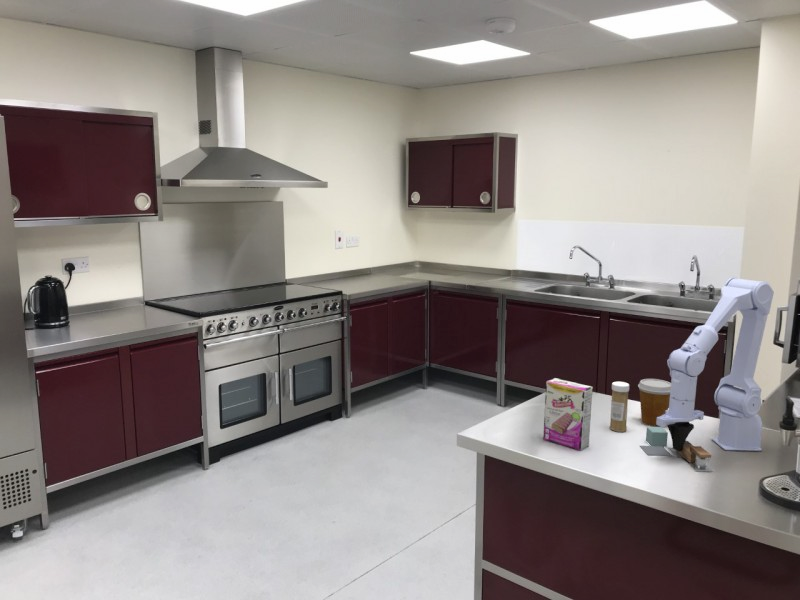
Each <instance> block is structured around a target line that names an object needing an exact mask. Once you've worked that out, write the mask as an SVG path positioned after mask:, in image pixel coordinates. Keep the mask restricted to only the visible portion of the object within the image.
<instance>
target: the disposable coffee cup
mask: <svg viewBox="0 0 800 600" xmlns="http://www.w3.org/2000/svg"><path fill="white" fill-rule="evenodd" d="M637 387H638V389H639V399H640V417H641V423H642V424H644V425H646V426H649V425H650V426H649V427H656V426H657V427H661V426H659V425H656V421H657V417H660V416H662V415H664V414H666V413H665V412H666V410H669V401H670V390H671V381H670V382H669V381H668V380H667V381H666V380H663V379H658V378H644V379H640V381H639V383H638V384H637Z"/></svg>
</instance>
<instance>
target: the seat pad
mask: <svg viewBox="0 0 800 600" xmlns="http://www.w3.org/2000/svg"><path fill="white" fill-rule="evenodd" d="M639 448H640V449H642V451H643V452H644V453H645V454H646V455H647V456H657V457H659V456H661V457H662V456H664V457H672V456H673V454H672V453H671V452H669V451H668V450H667V449H666V447H663V446H650V445H639Z"/></svg>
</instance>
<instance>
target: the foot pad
mask: <svg viewBox="0 0 800 600" xmlns="http://www.w3.org/2000/svg"><path fill="white" fill-rule="evenodd" d="M668 450H669V451H670V452H671V453H672V454H673V455H674V456H675V457H677V458H680V459H685V458H684V457H683V456H682V455H680V454H679V453H678V452H677V451H676V450H675V449H673V447H668Z"/></svg>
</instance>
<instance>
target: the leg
mask: <svg viewBox="0 0 800 600" xmlns="http://www.w3.org/2000/svg"><path fill="white" fill-rule="evenodd" d="M676 451H677V452H678V453H679V454H680V455H682V456H683V457H684V458H683V459H685V460H686V461H687V462H689V463H695V460H696V455H697V456H699V457H700V458H707V459H711V458H712V454H711V453H710V452H708V450H707V449H705V448H704V447H702V446H701V445H694V444H692V443H691V442H690V441H688V440H686V441H685V443H684V446H683V449H682V451H678V450H676Z"/></svg>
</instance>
